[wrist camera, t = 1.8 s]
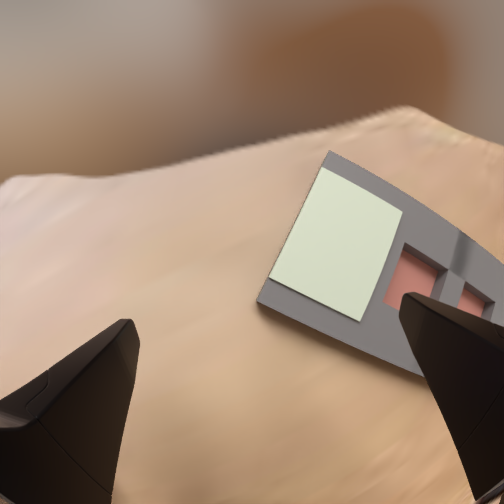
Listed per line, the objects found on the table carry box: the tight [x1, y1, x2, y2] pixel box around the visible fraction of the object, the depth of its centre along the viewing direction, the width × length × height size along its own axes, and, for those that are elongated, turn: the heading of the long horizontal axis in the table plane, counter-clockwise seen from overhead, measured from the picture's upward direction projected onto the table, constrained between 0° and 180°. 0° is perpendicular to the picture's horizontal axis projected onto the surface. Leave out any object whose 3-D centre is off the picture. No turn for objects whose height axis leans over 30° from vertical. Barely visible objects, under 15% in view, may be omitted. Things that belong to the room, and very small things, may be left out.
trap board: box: [256, 150, 504, 377], centre depth 23 cm, size 32×14×2 cm, turn 63°
